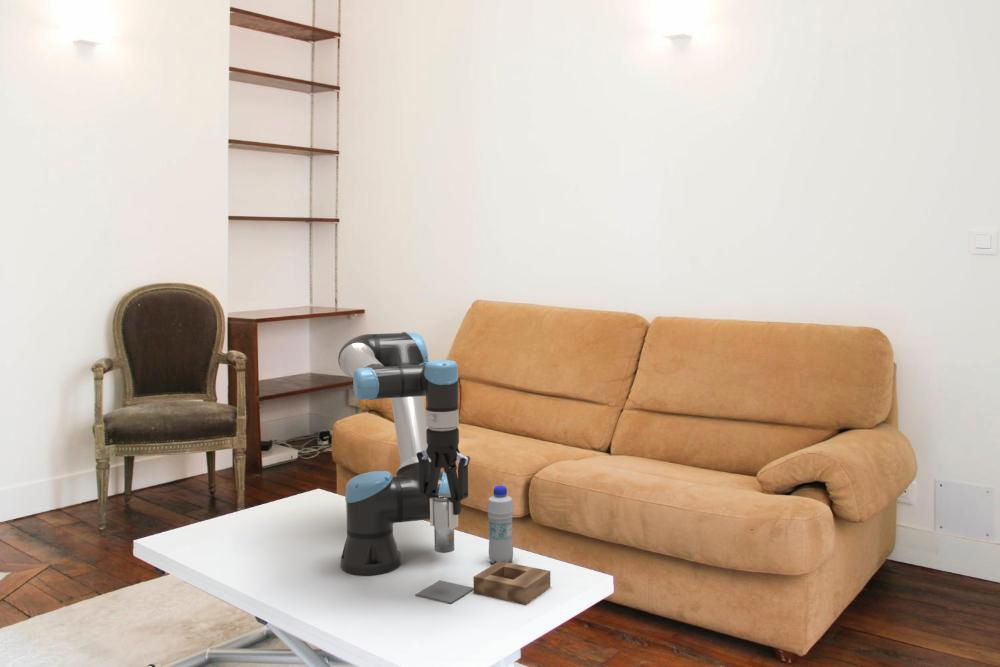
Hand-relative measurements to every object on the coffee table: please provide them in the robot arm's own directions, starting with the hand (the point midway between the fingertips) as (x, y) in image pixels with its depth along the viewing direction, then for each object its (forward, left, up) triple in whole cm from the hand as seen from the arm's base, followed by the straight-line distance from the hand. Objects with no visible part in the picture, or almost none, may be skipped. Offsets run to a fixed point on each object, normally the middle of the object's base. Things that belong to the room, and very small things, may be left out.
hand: (444, 525), depth 214 cm
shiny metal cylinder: (0, 0, -6) cm, 6 cm away
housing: (+13, +9, -16) cm, 23 cm away
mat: (0, 0, -16) cm, 16 cm away
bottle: (+1, +24, -16) cm, 29 cm away
